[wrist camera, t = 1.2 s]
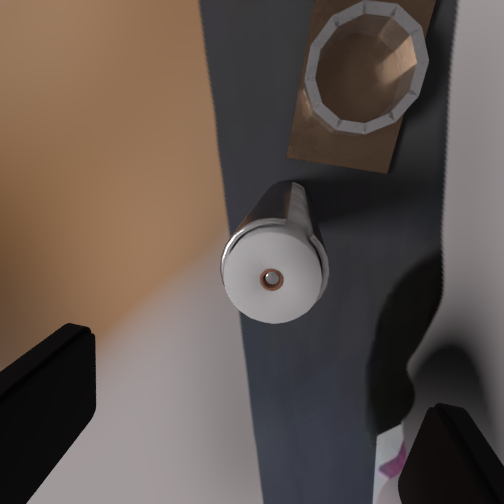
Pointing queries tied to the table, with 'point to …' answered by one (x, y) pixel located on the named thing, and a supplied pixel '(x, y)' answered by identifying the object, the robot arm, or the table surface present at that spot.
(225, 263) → the silver long cylinder
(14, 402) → the robot arm
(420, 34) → the duct collar
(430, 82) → the table surface
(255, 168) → the table surface
